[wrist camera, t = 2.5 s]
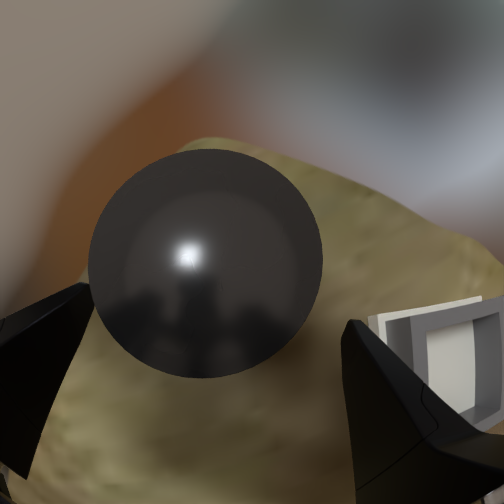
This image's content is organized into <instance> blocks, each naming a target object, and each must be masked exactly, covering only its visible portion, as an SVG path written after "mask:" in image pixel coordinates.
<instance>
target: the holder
mask: <svg viewBox="0 0 504 504" xmlns="http://www.w3.org/2000/svg"><path fill="white" fill-rule="evenodd" d="M368 324H369V328H370V329H371V330H372V331H373V332H374V333H375V334H376V335H377V336H378V337H379V338H380V339H381V340H382V341H383V342H384V343H385V344H386V345H387V346H388V347H389V348H390V349H391V350H392V351H393V352H394V353H395V354H396V355H397V356H398V357H399V358H400V359H401V360H402V361H403V362H404V363H406V364H407V365H408V366H409V367H410V368H411V369H412V370H413V371H414V372H415V373H416V374H417V375H418V376H419V377H420V378H421V379H422V380H423V382H424V383H426V384H427V385H428V386H429V387H430V388H431V389H432V390H433V391H434V392H435V393H436V394H437V395H438V396H439V397H440V398H441V399H442V400H443V401H444V402H445V403H447V404H448V405H449V406H450V407H451V408H452V409H453V410H455V411H456V412H457V413H458V414H459V415H461V416H462V417H463V418H464V419H465V420H466V421H468V422H469V423H470V424H471V425H472V426H474V427H475V428H476V429H478V430H480V431H482V432H485V431H486V430H488V429H489V428H491V427H493V426H494V425H496V424H497V423H499V422H501V421H502V420H504V295H503V296H499V297H496V298H492V299H488V300H484V301H482V297H481V296H477V297H472V298H468V299H463V300H458V301H453V302H448V303H443V304H438V305H432V306H427V307H421V308H415V309H409V310H403V311H397V312H390V313H383V314H377V315H373V316H369V317H368Z"/></svg>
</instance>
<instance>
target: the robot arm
mask: <svg viewBox="0 0 504 504" xmlns="http://www.w3.org/2000/svg"><path fill="white" fill-rule="evenodd" d="M94 306H95V304H94V301H93V298H92V294H91V290H90V285H89V284H88V283H83V282H79V283H76V284H74V285H72V286H70V287H68V288H65V289H63V290H61V291H59V292H57V293H55V294H53V295H50V296H48V297H46V298H44V299H42V300H40V301H38V302H36V303H34V304H32V305H30V306H27V307H25V308H23V309H21V310H19V311H17V312H15V313H13V314H11V315H9V316H7V317H6V318H3V319H1V320H0V472H1V469H2V467H3V465H5V466H6V467H8V468H9V469H10V470H12V471H13V472H15V473H16V474H18V475H19V476H21V477H22V478H24V479H25V480H27V478H28V475H29V471H30V468H31V465H32V461H33V458H34V455H35V452H36V449H37V446H38V443H39V440H40V437H41V433H42V431H43V428H44V426H45V423H46V420H47V418H48V415H49V412H50V410H51V407H52V405H53V402H54V400H55V398H56V395H57V393H58V390H59V388H60V386H61V383H62V381H63V379H64V377H65V374H66V372H67V370H68V368H69V366H70V364H71V361H72V359H73V357H74V355H75V353H76V351H77V349H78V347H79V345H80V342H81V340H82V338H83V335H84V333H85V330H86V327H87V325H88V322H89V320H90V317H91V315H92V312H93V310H94ZM341 359H342V381H343V389H344V396H345V402H346V409H347V417H348V424H349V432H350V440H351V449H352V458H353V469H354V480H355V490H356V492H355V494H356V504H504V435H499V434H489V433H485V432H482V431H480V430H478V429H476V428H475V427H474V426H472V425H471V424H470V423H469V422H468V421H466V420H465V419H464V418H463V417H462V416H461V415H459V414H458V413H457V412H456V411H455V410H453V409H452V408H451V407H450V406H449V405H448V404H447V403H445V402H444V401H443V400H442V399H441V398H440V397H439V396H438V395H437V394H436V393H435V392H434V391H433V390H432V389H431V388H430V387H429V386H428V385H427V384H426V383H424V382H423V380H422V379H421V378H420V377H419V376H418V375H417V374H416V373H415V372H414V371H413V370H412V369H411V368H410V367H409V366H408V365H407V364H406V363H404V362H403V361H402V360H401V359H400V358H399V357H398V356H397V355H396V354H395V353H394V352H393V351H392V350H391V349H390V348H389V347H388V346H387V345H386V344H385V343H384V342H383V341H382V340H381V339H380V338H379V337H378V336H377V335H376V334H375V333H374V332H373V331H372V330H371V329H370V328H369V327H368V326H367V325H365V324H364V323H363V322H362V321H361V320H354V319H350V320H349V321H348V322H347V325H346V327H345V330H344V332H343V335H342V337H341ZM0 504H17V503H15V502H14V501H12V499H11V496H10V494H9V491H8V488H7V485H6V482H5V479H4V475H3V474H2V473H0Z"/></svg>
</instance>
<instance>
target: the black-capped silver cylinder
mask: <svg viewBox="0 0 504 504" xmlns="http://www.w3.org/2000/svg"><path fill="white" fill-rule="evenodd" d="M322 265H323V255H322V243H321V238H320V233H319V229H318V226H317V223H316V221H315V218H314V215H313V213H312V211H311V209H310V208H309V206H308V204H307V202H306V201H305V199H304V198H303V196H302V195H301V193H300V192H299V191H298V190H297V188H296V187H295V186H294V185H293V184H292V183H291V182H290V181H289V180H288V179H287V178H286V177H284V176H283V175H282V174H281V173H280V172H279V171H277V170H275V169H274V168H272V167H271V166H269V165H268V164H266V163H264V162H262V161H260V160H258V159H256V158H254V157H251V156H248V155H245V154H242V153H238V152H233V151H229V150H220V149H198V150H190V151H185V152H180V153H176V154H173V155H170V156H167V157H165V158H162V159H160V160H158V161H156V162H154V163H152V164H150V165H148V166H146V167H145V168H143V169H142V170H141V171H139V172H137V173H136V174H135V175H133V176H132V177H131V178H130V179H128V180H127V181H126V182H125V183H124V184H123V185H122V186H121V187H120V188H119V189H118V190H117V191H116V193H115V194H114V195H113V197H112V198H111V199H110V201H109V202H108V203H107V205H106V207H105V208H104V210H103V212H102V214H101V215H100V218H99V220H98V222H97V225H96V227H95V230H94V233H93V236H92V240H91V245H90V250H89V259H88V275H89V285H90V290H91V294H92V298H93V301H94V304H95V307H96V309H97V312H98V314H99V316H100V318H101V320H102V322H103V323H104V325H105V327H106V328H107V330H108V331H109V332H110V334H111V335H112V336H113V338H114V339H115V340H116V341H117V342H118V343H119V344H120V345H121V346H122V347H123V348H124V349H125V350H126V351H127V352H128V353H130V354H131V355H132V356H134V357H135V358H136V359H138V360H139V361H141V362H143V363H145V364H147V365H148V366H150V367H152V368H154V369H157V370H160V371H162V372H165V373H168V374H172V375H176V376H181V377H188V378H215V377H222V376H227V375H231V374H235V373H239V372H241V371H244V370H246V369H249V368H252V367H254V366H256V365H257V364H259V363H261V362H263V361H265V360H266V359H268V358H270V357H271V356H272V355H274V354H275V353H276V352H277V351H279V350H280V349H281V348H283V347H284V346H285V345H286V344H287V343H288V342H289V340H290V339H291V338H292V337H293V336H294V335H295V334H296V333H297V331H298V330H299V329H300V327H301V326H302V325H303V323H304V322H305V320H306V318H307V316H308V315H309V313H310V311H311V309H312V307H313V304H314V302H315V299H316V296H317V294H318V290H319V286H320V281H321V277H322Z"/></svg>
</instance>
